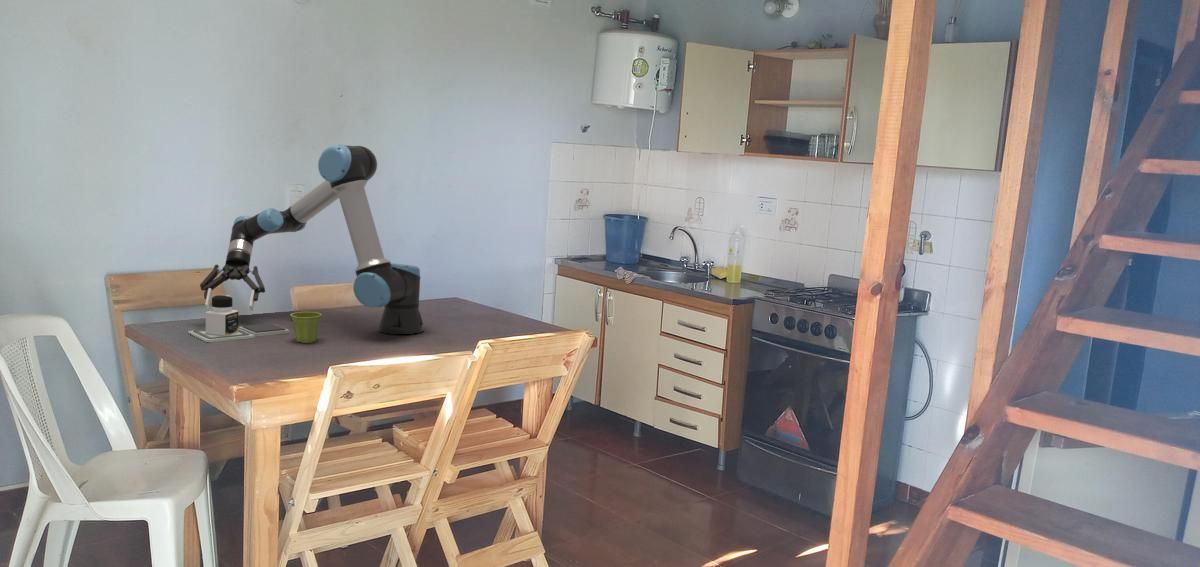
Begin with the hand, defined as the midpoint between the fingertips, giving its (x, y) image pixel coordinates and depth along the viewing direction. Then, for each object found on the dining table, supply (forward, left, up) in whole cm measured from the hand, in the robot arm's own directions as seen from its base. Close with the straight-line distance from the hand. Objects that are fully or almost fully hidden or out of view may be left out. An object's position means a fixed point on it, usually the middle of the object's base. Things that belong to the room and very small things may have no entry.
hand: (229, 307), depth 302 cm
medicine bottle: (-8, +6, -7) cm, 12 cm away
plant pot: (-27, -13, -7) cm, 31 cm away
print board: (-8, +6, -7) cm, 12 cm away
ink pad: (-8, -8, -7) cm, 14 cm away
